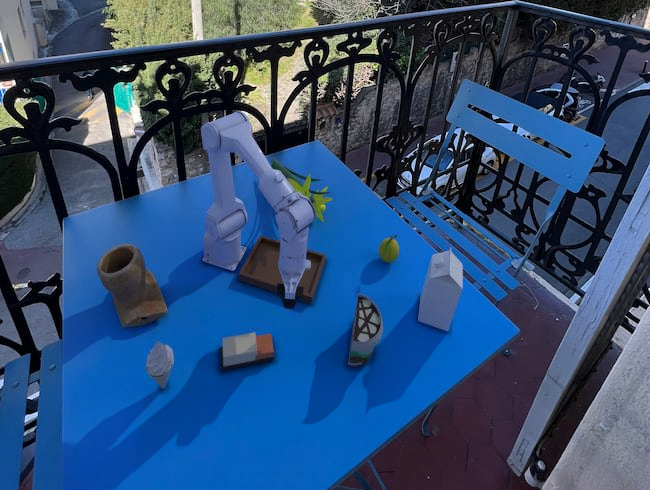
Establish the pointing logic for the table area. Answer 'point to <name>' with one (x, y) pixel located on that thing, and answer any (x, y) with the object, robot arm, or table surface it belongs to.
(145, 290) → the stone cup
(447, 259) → the milk carton
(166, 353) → the ice cream cone
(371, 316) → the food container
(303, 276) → the brown serving tray
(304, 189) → the daffodil flowers
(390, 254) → the yellow pear
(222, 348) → the beige and orange block
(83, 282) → the table surface
